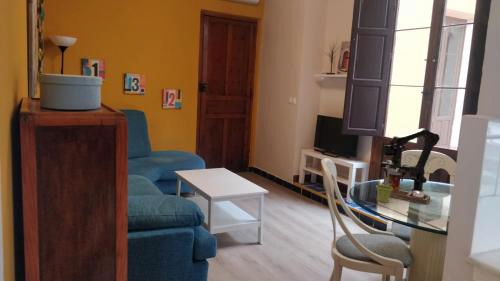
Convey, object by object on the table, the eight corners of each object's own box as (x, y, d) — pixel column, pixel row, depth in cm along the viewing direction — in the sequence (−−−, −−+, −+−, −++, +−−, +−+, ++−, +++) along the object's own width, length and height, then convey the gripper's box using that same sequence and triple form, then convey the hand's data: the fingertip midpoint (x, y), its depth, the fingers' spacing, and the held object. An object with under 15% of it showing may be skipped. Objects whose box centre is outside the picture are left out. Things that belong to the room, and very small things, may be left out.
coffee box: (383, 181, 286) (385, 159, 284) (392, 182, 285) (395, 160, 282) (384, 184, 277) (387, 161, 275) (394, 185, 276) (397, 162, 273)
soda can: (385, 190, 262) (387, 171, 260) (392, 189, 266) (394, 171, 264) (393, 192, 256) (395, 174, 254) (401, 192, 259) (403, 173, 258)
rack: (392, 192, 256) (393, 188, 256) (429, 199, 244) (430, 195, 244) (387, 196, 247) (387, 192, 247) (425, 204, 235) (426, 199, 234)
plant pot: (390, 200, 239) (392, 186, 238) (392, 204, 230) (393, 189, 229) (374, 198, 242) (375, 184, 240) (374, 202, 233) (376, 187, 231)
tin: (413, 197, 247) (414, 190, 246) (424, 200, 244) (425, 192, 243) (410, 200, 242) (411, 192, 241) (422, 202, 238) (423, 194, 238)
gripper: (378, 155, 256) (376, 179, 258) (409, 159, 246) (406, 184, 248) (383, 153, 265) (381, 176, 267) (413, 157, 255) (410, 181, 257)
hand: (394, 179), depth 260 cm, fingers open, 9 cm apart
